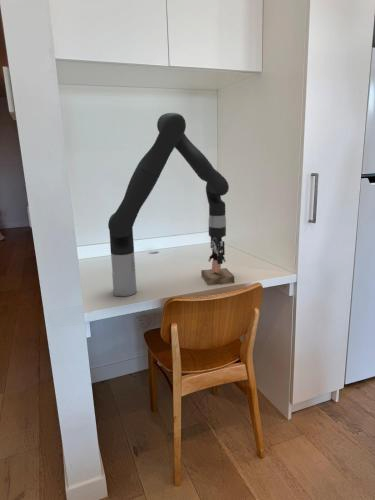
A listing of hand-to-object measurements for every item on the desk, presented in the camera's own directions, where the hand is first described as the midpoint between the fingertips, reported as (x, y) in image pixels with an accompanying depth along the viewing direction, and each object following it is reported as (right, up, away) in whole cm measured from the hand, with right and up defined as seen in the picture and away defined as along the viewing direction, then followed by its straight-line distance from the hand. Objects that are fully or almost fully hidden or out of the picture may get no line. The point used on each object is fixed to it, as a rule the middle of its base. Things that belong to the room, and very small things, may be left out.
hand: (217, 261), depth 153 cm
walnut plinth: (0, -8, +2) cm, 9 cm away
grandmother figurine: (0, -6, +1) cm, 6 cm away
